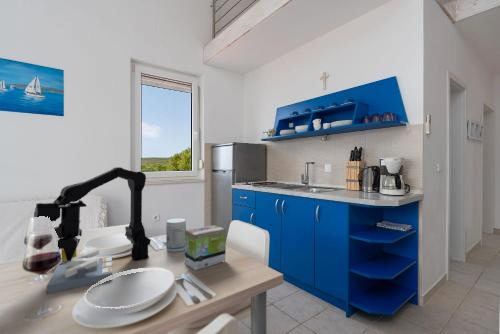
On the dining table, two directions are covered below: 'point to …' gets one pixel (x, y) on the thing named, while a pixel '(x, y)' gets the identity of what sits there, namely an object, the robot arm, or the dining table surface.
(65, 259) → the supplement bottle
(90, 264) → the rocker
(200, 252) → the tea box
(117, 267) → the dining table surface
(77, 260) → the rocker
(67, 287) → the switch panel
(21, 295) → the dining table surface
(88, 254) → the rocker
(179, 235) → the supplement tub
